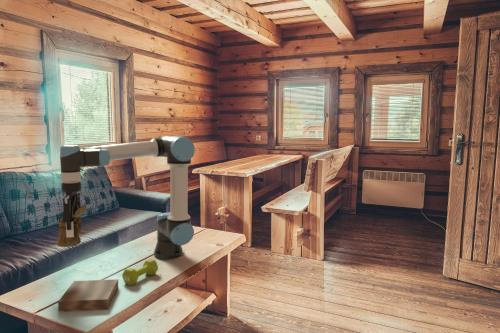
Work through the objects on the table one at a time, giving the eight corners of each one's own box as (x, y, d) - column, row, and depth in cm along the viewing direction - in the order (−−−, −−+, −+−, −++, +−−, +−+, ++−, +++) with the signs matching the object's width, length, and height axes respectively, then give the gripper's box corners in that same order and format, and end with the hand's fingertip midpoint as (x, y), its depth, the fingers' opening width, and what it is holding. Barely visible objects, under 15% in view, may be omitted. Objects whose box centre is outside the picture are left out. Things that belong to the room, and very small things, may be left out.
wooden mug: (78, 249, 153) (76, 206, 151) (52, 245, 157) (50, 204, 155) (93, 242, 162) (91, 202, 160) (68, 239, 166) (66, 199, 163)
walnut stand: (118, 288, 160) (118, 279, 160) (107, 309, 143) (107, 299, 142) (74, 290, 158) (74, 281, 158) (58, 311, 140) (57, 301, 140)
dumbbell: (133, 288, 161) (132, 272, 160) (120, 283, 165) (120, 268, 164) (159, 274, 175) (159, 260, 175) (147, 271, 179) (147, 256, 178)
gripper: (70, 178, 166) (72, 227, 169) (52, 185, 147) (54, 241, 150) (88, 178, 167) (89, 227, 170) (71, 185, 148) (74, 241, 150)
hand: (73, 234), depth 160 cm, fingers closed on wooden mug, 7 cm apart
